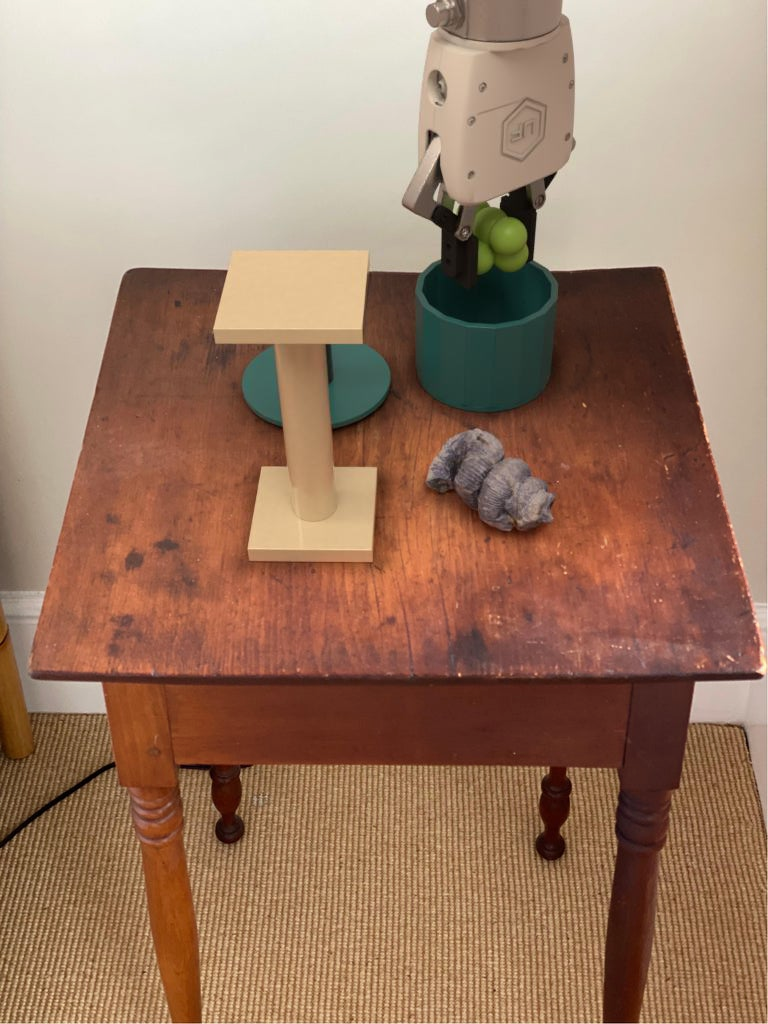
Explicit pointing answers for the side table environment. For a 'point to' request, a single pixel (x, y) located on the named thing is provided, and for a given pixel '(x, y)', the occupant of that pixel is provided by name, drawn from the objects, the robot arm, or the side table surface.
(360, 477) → the pedestal
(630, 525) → the side table surface
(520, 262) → the grapes
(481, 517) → the seashell
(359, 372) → the lid
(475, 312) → the pot
